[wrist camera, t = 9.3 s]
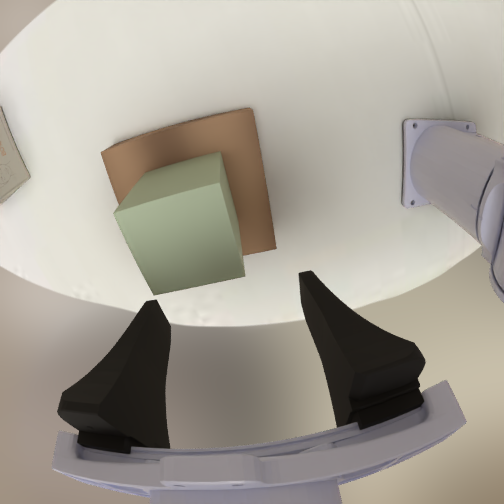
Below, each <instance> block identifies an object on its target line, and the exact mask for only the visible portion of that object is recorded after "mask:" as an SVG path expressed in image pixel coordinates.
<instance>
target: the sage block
mask: <svg viewBox="0 0 504 504" xmlns="http://www.w3.org/2000/svg"><path fill="white" fill-rule="evenodd" d="M113 214H114V216H115V218H116V221H117V223H118V225H119V227H120V230H121V232H122V234H123V236H124V238H125V240H126V242H127V244H128V247H129V249H130V251H131V253H132V255H133V257H134V259H135V261H136V263H137V265H138V267H139V269H140V271H141V272H142V274H143V276H144V278H145V280H146V282H147V284H148V286H149V288H150V289H151V291H152V293H153V295H158V294H164V293H168V292H173V291H178V290H183V289H188V288H193V287H198V286H203V285H207V284H212V283H217V282H221V281H226V280H231V279H235V278H240V277H244V276H245V270H244V262H243V254H242V246H241V238H240V230H239V222H238V218H237V214H236V210H235V206H234V202H233V198H232V194H231V191H230V187H229V183H228V179H227V175H226V171H225V167H224V163H223V159H222V155H221V151H219V152H215V153H211V154H207V155H203V156H200V157H196V158H192V159H189V160H185V161H182V162H178V163H175V164H171V165H168V166H165V167H161V168H158V169H155V170H152V171H149V172H146V173H144V175H143V176H142V177H141V178H140V179H139V181H138V182H137V183H136V184H135V186H134V187H133V188H132V189H131V191H130V192H129V193H128V194H127V196H126V197H125V198H124V200H123V201H122V202H121V204H120V205H119V206H118V208H117V209H116V210H115V212H114V213H113Z"/></svg>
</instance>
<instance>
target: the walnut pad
mask: <svg viewBox="0 0 504 504" xmlns="http://www.w3.org/2000/svg"><path fill="white" fill-rule="evenodd" d="M219 151H221V155H222V159H223V163H224V167H225V171H226V175H227V179H228V183H229V187H230V191H231V194H232V198H233V202H234V206H235V210H236V214H237V218H238V222H239V230H240V238H241V246H242V254H243V256H244V255H249V254H254V253H259V252H264V251H269V250H274V249H277V248H276V242H275V235H274V229H273V223H272V216H271V210H270V204H269V198H268V192H267V186H266V180H265V174H264V168H263V163H262V157H261V151H260V146H259V140H258V135H257V129H256V124H255V118H254V113H253V110H252V109H251V108H245V109H240V110H234V111H229V112H225V113H220V114H215V115H211V116H207V117H202V118H198V119H194V120H190V121H187V122H183V123H179V124H175V125H172V126H168V127H165V128H162V129H158V130H155V131H152V132H149V133H146V134H143V135H140V136H137V137H134V138H131V139H128V140H125V141H123V142H120V143H117V144H114V145H112V146H111V147H109V148H107V149H106V150H104V151H102V152H101V155H102V158H103V161H104V164H105V167H106V170H107V173H108V176H109V179H110V182H111V185H112V187H113V190H114V193H115V196H116V198H117V201H118V203H119V205H120V204H121V202H122V201H123V200H124V198H125V197H126V196H127V194H128V193H129V192H130V191H131V189H132V188H133V187H134V186H135V184H136V183H137V182H138V181H139V179H140V178H141V177H142V176H143V175H144V173H146V172H149V171H152V170H155V169H158V168H161V167H165V166H168V165H171V164H175V163H178V162H182V161H185V160H189V159H192V158H196V157H200V156H203V155H207V154H211V153H215V152H219Z"/></svg>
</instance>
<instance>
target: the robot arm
mask: <svg viewBox="0 0 504 504" xmlns="http://www.w3.org/2000/svg"><path fill="white" fill-rule="evenodd" d="M413 124H415V126H414V128H413ZM403 127H404V179H403V199H402V205H403V206H404V207H405V208H412V207H417V206H423V205H428V204H433V205H434V206H435V207H437V208H438V209H439V210H441V211H442V212H443V213H444V214H446V215H447V216H448V217H449V218H451V219H452V220H453V221H454V222H456V223H457V224H458V225H459V226H460V227H462V228H463V229H464V230H465V231H466V232H467V233H469V234H470V235H471V236H472V237H473V238H474V239H475V240H477V241H478V242H479V243H480V244H481V245H482V256H483V257H484V258H485V259H486V260H487V261H488V262H489V263H490V264H491V265H490V268H489V278H490V282H491V285H492V287H493V289H494V291H495V293H496V294H497V296H498V297H499V298H500V300H501V301H502V302H503V303H504V145H503V144H501V143H498V142H496V141H494V140H492V139H489V138H487V137H484V136H482V135H479V134H477V133H476V125H475V123H473V122H468V121H455V120H432V119H407V120H405V121H404V125H403ZM412 200H413V201H412ZM411 201H412V203H411ZM299 283H300V295H301V304H302V308H303V312H304V316H305V319H306V322H307V325H308V327H309V330H310V332H311V335H312V337H313V340H314V343H315V345H316V347H317V350H318V353H319V355H320V358H321V361H322V365H323V368H324V372H325V375H326V380H327V383H328V388H329V392H330V397H331V401H332V406H333V410H334V415H335V420H336V425H337V428H334V429H330V430H327V431H323V432H318V433H315V434H310V435H305V436H301V437H296V438H291V439H285V440H280V441H274V442H267V443H260V444H253V445H244V446H233V447H221V448H201V449H170V443H169V436H168V429H167V419H166V402H165V385H166V375H167V366H168V360H169V352H170V345H171V326H170V324H169V322H168V320H167V318H166V316H165V315H164V313H163V311H162V309H161V307H160V305H159V303H158V301H157V300H151V301H146V302H145V303H144V305H143V306H142V308H141V309H140V310H139V312H138V313H137V315H136V316H135V318H134V319H133V321H132V322H131V324H130V325H129V327H128V328H127V330H126V331H125V332H124V334H123V335H122V336H121V338H120V339H119V340H118V342H117V343H116V344H115V346H114V347H113V348H112V349H111V350H110V352H109V353H108V354H107V355H106V356H105V357H104V358H103V359H102V361H100V362H99V363H98V364H97V365H96V366H95V367H94V368H93V369H92V370H91V371H90V372H89V373H88V374H87V375H85V377H83V378H82V379H81V380H79V381H78V382H77V383H75V384H74V385H73V386H71V387H70V388H68V389H67V390H65V391H64V392H63V393H62V396H61V400H60V403H59V407H58V411H57V412H58V415H59V416H60V417H61V418H62V419H63V420H64V421H66V422H67V423H69V424H70V425H72V426H73V427H74V428H76V429H77V430H79V435H76V434H73V433H70V432H65V431H59V432H58V436H57V441H56V446H55V451H54V457H53V462H52V469H53V470H55V471H57V472H59V473H62V474H64V475H66V476H68V477H71V478H73V479H75V480H78V481H80V482H83V483H87V484H90V485H94V486H98V487H101V488H106V489H109V490H114V491H118V492H123V493H127V494H132V495H137V496H143V497H149V498H150V504H342V500H341V496H340V492H339V487H338V485H341V484H344V483H348V482H351V481H354V480H357V479H360V478H363V477H366V476H368V475H371V474H374V473H376V472H379V471H381V470H384V469H386V468H389V467H391V466H393V465H396V464H398V463H400V462H402V461H405V460H407V459H409V458H411V457H413V456H415V455H417V454H419V453H421V452H423V451H425V450H427V449H429V448H431V447H433V446H435V445H437V444H439V443H440V442H442V441H444V440H445V439H447V438H448V437H449V436H451V435H452V434H453V433H454V432H456V431H457V430H458V429H460V428H461V427H462V426H463V425H465V424H466V422H467V421H466V419H465V417H464V415H463V412H462V410H461V408H460V406H459V404H458V402H457V400H456V397H455V395H454V393H453V391H452V389H451V388H450V385H449V383H448V382H447V381H446V380H444V381H442V382H440V383H438V384H436V385H434V386H432V387H430V388H428V389H426V390H424V391H423V392H422V393H421V392H420V390H419V387H420V383H419V381H418V377H419V375H420V374H421V372H422V370H423V368H424V366H425V359H424V357H423V355H422V353H421V352H420V350H419V349H418V347H417V346H416V345H415V343H414V342H411V341H408V340H405V339H403V338H400V337H398V336H395V335H393V334H391V333H389V332H387V331H384V330H383V329H381V328H379V327H377V326H376V325H374V324H372V323H370V322H369V321H367V320H366V319H364V318H363V317H361V316H360V315H358V314H357V313H356V312H354V311H353V310H352V309H350V308H349V307H348V306H347V305H346V304H344V303H343V302H342V301H341V300H340V299H339V298H338V297H336V296H335V295H334V294H333V293H332V292H331V291H330V290H329V289H328V288H327V287H326V286H325V285H324V284H323V283H322V282H321V281H320V279H319V278H318V277H317V276H316V275H315V274H314V272H312V271H306V272H301V273H299Z"/></svg>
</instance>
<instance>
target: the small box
mask: <svg viewBox="0 0 504 504" xmlns="http://www.w3.org/2000/svg"><path fill="white" fill-rule="evenodd" d="M29 178H30V175H29V173H28V171H27V169H26V167H25V165H24V163H23V161H22V159H21V156H20V154H19V152H18V150H17V148H16V145H15V143H14V140H13V138H12V136H11V133H10V131H9V128H8V126H7V123H6V120H5V118H4V115H3V112H2V109H1V107H0V205H1V204H2V203H3V202H4V201H5V200H7V199H8V198H9V197H10V196H11V195H12V194H13V193H14V192H15V191H16V190H17V189H18V188H19V187H21V186H22V185H23V184H24V183H25V182H26V181H27V180H28V179H29Z"/></svg>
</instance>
